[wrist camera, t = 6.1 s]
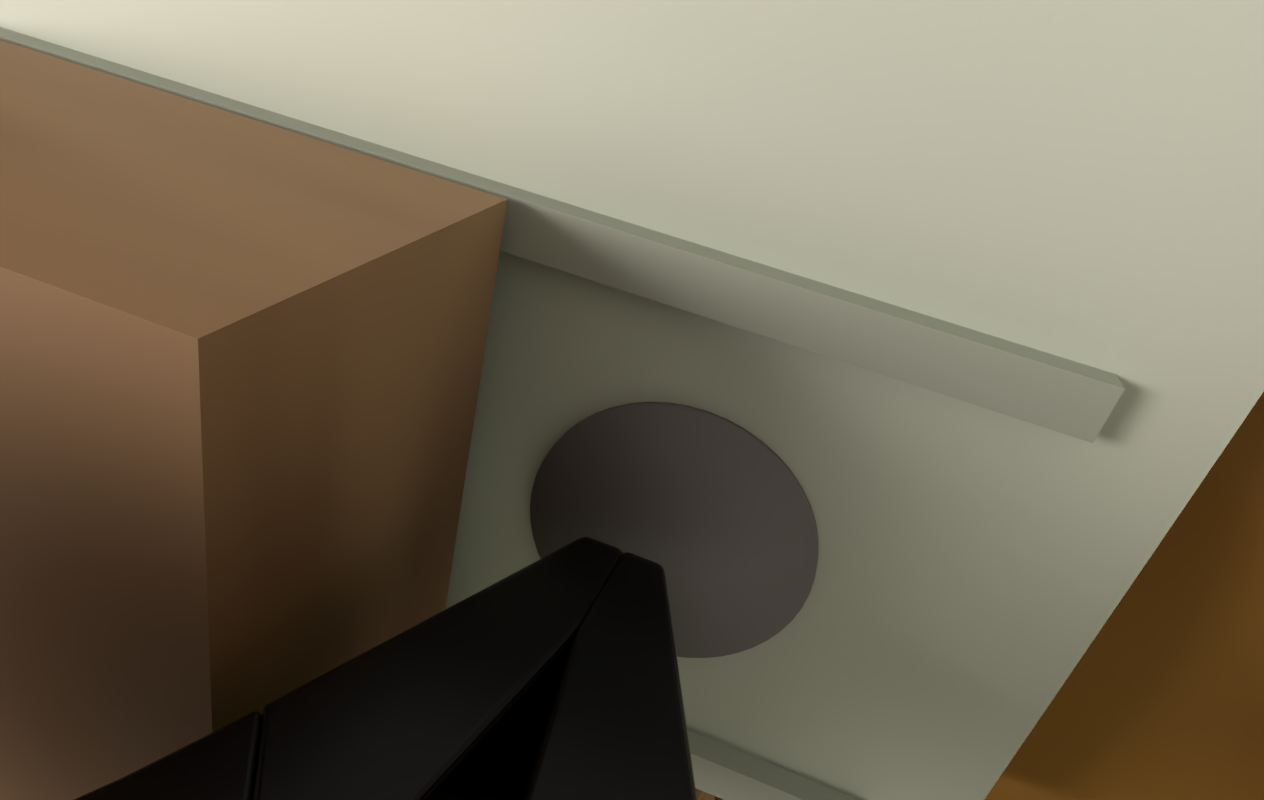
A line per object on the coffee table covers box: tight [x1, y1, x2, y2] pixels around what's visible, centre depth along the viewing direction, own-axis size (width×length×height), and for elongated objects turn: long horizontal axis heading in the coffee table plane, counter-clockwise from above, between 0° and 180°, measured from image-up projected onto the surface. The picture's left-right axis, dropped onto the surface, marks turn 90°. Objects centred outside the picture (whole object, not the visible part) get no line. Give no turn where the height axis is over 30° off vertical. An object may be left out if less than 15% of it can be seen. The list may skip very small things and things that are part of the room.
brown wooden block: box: [0, 40, 508, 800], centre depth 7 cm, size 6×6×4 cm
